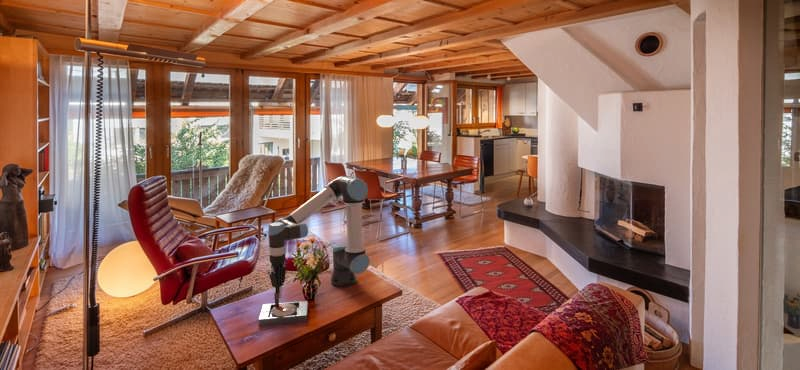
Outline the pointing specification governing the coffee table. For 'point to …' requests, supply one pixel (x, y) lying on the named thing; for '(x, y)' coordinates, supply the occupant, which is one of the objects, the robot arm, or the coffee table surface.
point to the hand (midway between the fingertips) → (279, 298)
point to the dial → (283, 308)
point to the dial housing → (268, 319)
